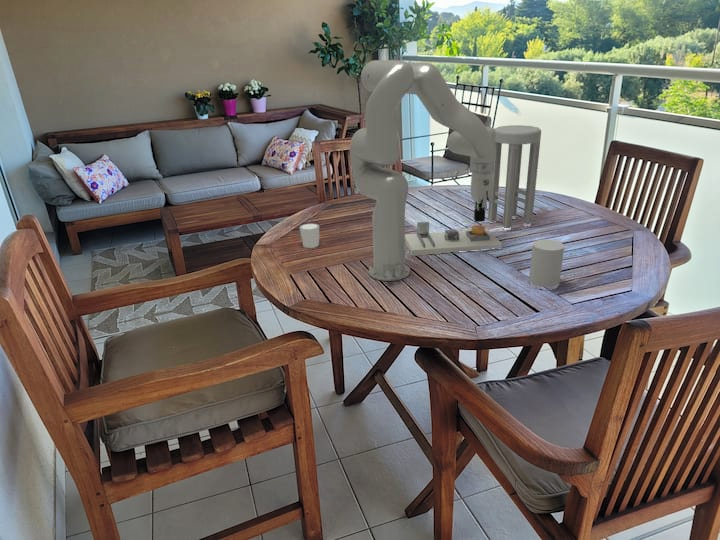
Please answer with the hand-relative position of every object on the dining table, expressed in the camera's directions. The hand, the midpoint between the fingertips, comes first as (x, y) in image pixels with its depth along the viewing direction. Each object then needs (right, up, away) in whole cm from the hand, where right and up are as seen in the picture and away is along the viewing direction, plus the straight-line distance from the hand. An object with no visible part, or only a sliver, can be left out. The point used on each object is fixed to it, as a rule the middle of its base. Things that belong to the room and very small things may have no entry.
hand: (479, 220), depth 174 cm
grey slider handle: (-18, -5, +5) cm, 20 cm away
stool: (+16, 0, +19) cm, 25 cm away
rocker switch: (-9, -5, +1) cm, 10 cm away
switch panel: (-9, -8, +2) cm, 12 cm away
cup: (+12, -21, -28) cm, 37 cm away
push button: (0, -4, +2) cm, 4 cm away
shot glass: (-57, -8, +7) cm, 58 cm away
